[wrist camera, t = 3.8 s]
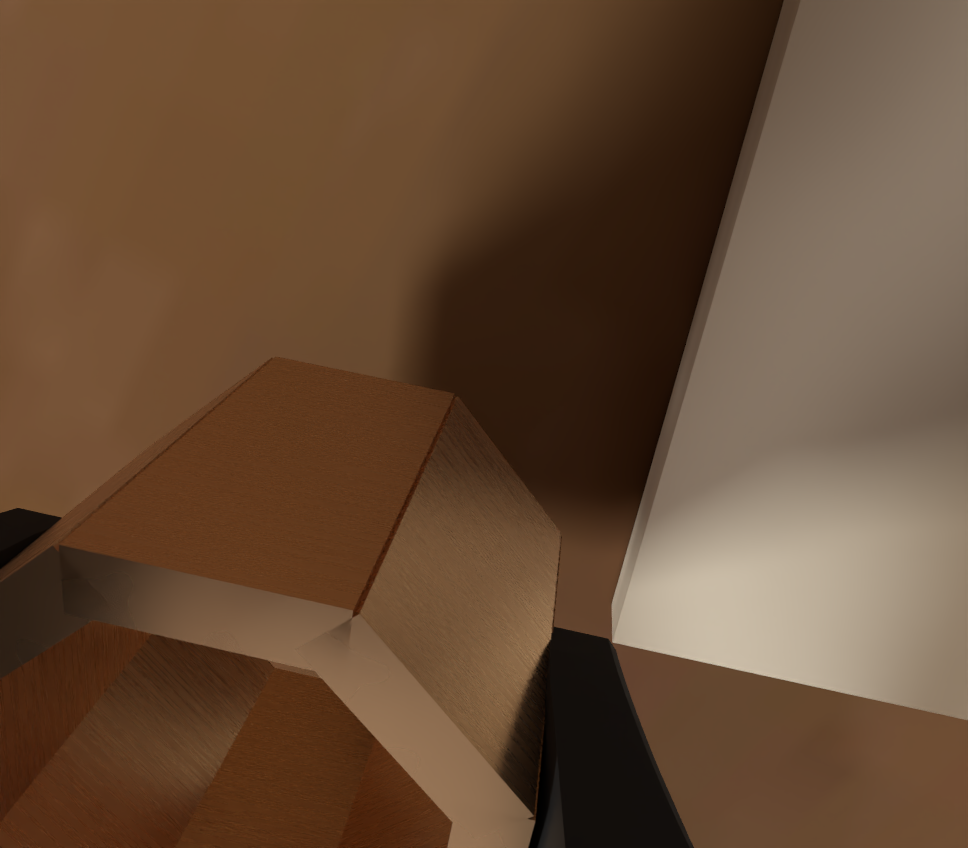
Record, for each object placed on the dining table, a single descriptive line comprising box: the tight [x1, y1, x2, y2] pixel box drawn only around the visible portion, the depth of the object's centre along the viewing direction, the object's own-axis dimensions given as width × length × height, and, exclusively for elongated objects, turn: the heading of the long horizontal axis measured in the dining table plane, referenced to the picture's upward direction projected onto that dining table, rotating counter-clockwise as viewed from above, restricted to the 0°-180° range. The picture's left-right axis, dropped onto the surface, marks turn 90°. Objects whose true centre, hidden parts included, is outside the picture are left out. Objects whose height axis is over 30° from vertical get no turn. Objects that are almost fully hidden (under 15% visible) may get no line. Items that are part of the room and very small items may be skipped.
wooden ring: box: [0, 357, 562, 848], centre depth 8 cm, size 5×5×4 cm
